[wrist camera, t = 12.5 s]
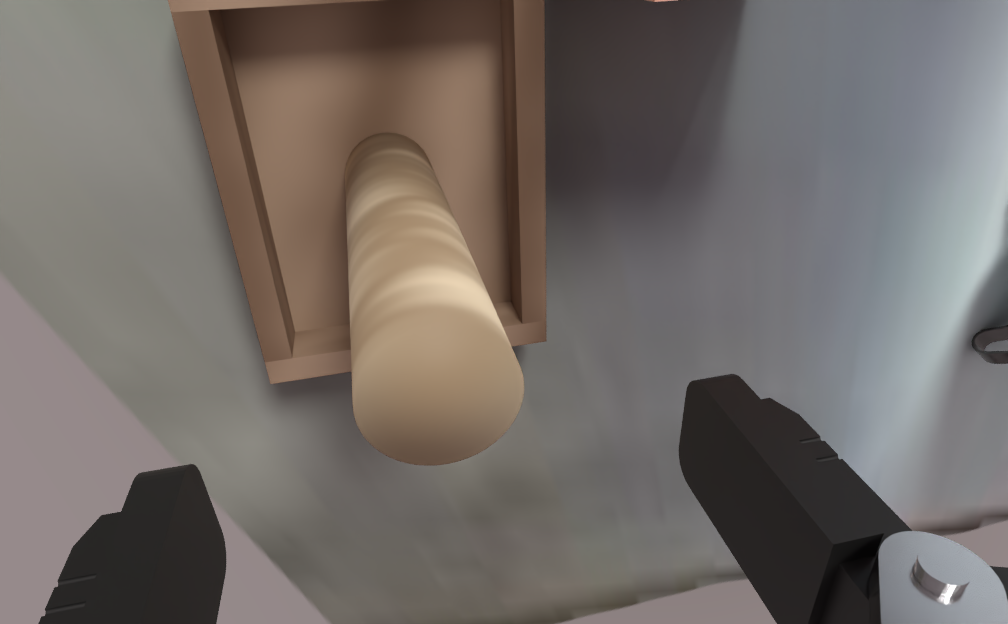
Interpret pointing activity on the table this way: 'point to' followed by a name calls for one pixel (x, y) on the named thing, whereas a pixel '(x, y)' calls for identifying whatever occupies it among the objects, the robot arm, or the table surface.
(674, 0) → the pink open box
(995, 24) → the table surface
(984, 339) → the coffee press
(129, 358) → the table surface
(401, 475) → the table surface
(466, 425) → the dowel
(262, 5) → the tray
